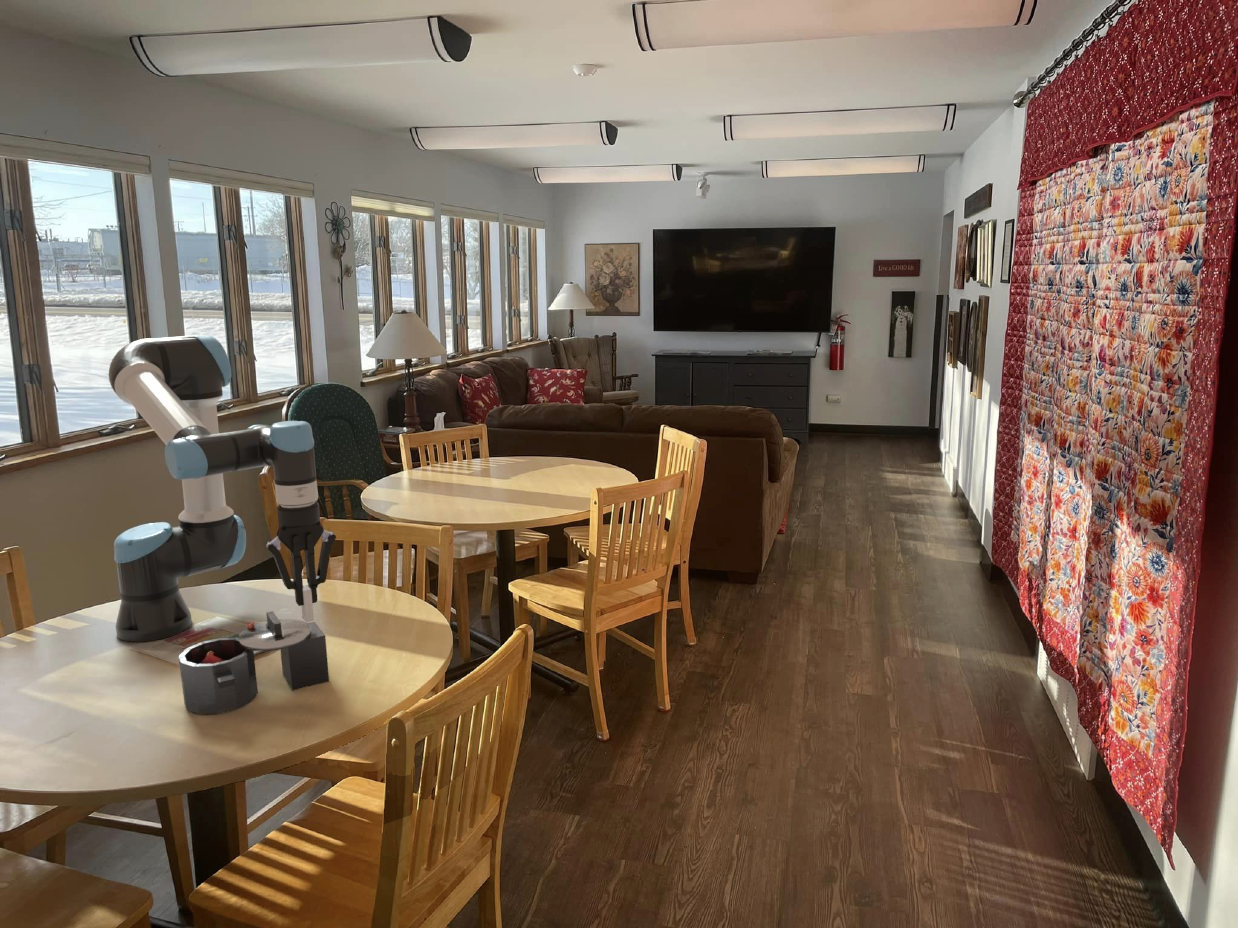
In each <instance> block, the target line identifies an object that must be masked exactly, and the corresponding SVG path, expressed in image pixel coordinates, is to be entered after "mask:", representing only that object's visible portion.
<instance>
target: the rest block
mask: <svg viewBox="0 0 1238 928" xmlns="http://www.w3.org/2000/svg"><path fill="white" fill-rule="evenodd" d="M307 623H308V624H309V625H310V628H311V634H310V636H309V637H308V638H307V639H306V640H304V641H303V642H301V643H299V644H296V645H294V646H291V647H287V648H283V649H279V650H280V658H281V659H280V660H281V669H282V676H283V677H284V679H285V681H286V683H287V684H288V686H289V687H290V689H291V691H296V690H300V689H305V688H308V687H312V686H316V685H320V684H324V683H328V682H330V676H329V675H330V674H329V662H328V652H327V641H326V640H327V639H326V635H325V633H324V632H323V630H322V629H321V628H320V626H319V625H318V624H317V622H315V621H310V622H307Z"/></svg>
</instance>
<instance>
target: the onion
mask: <svg viewBox="0 0 1238 928" xmlns="http://www.w3.org/2000/svg"><path fill="white" fill-rule="evenodd" d="M222 661H223V660H222V659H221V658H219V657H216V656H214V652H212V651H210V652H208V653H207V655H206V657H205V658H204V659H203V660H202V661H201V662H200V664H213V663H218V662H222Z"/></svg>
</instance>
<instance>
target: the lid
mask: <svg viewBox="0 0 1238 928" xmlns="http://www.w3.org/2000/svg"><path fill="white" fill-rule="evenodd" d="M308 623H309V622H306V621H305V620H301V619H293V618H292V619H291V618H283V619H279V618H278V617H277V615H276V614H275V612H274V611H273V610H272V611H267V612H266V621H263V622H259V623H256V624H255V622H254V621H253V622H252V621H251V622H247V623H246V628H245V629H244V630H242V631H241V632H240V633H239V634H238V637H237V638H238V639H239V645H240V646H241V647H243V648H245V649H248V650H253V651H254V652H267V651H269V652H271V651H278V650H280V649H283V648H287V647H291V646H294V645H296V644H299V643H301V642H303V641H304V640H306V639H307V638H308V637H309V636H310V634H311V628H310V625H309V624H308Z"/></svg>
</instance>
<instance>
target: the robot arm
mask: <svg viewBox="0 0 1238 928" xmlns="http://www.w3.org/2000/svg"><path fill="white" fill-rule="evenodd" d="M231 378H232V367H231V363H230V359H229V356H228V354H227V351H226V350H225V348H224V346H223V345H222V343H221V342H220V341H219V340H218V339H217V338H216V337H213V336H211V335H194V334H193V335H192V334H191V335H181V336H179V335H178V336H168V337H166V336H165V337H155V338H154V337H153V338H150V337H149V338H141V339H137V340H134V341H132V342H129V343H127V344H126V345H124V346H123V347H122V348H121V349H119V350H118V351H117V352H116V354H115V355H114V356H113V358H112V359H111V362H110V364H109V370H108V379H109V380H108V381H109V384H110V386H111V389H112V390H113V392H114V393H115V395H116V396H117V397H118V398H119V399H120V400H121V401H123V402H125V403H127V404H129V405H132V406H133V407H134V409H135V410H136V411H137V413H139V415H140V416H141V417H142V418H143V419H144V421H145V422H146V423H147V424H148V425H149V426H150V428H151V429H152V430H153V431H154V434H155V433H156V435H157V436H158V438H159V439H160V440H161V441H162V443H164V445H165V447H164V460H165V465H166V467H167V468H168V471H169V474H170V475H171V477H173V478H174V479H176V480H181V483H182V493H183V495H182V497H183V503H184V504H183V505H184V509H183V510H182V511H181V512H180V513H179V514H178V525H177V526H172V525H171V524H170V523H168V522H165V521H160V522H159V521H156V522H153V523H152V522H149V523H144V524H139V525H138V526H134V527H131V528H129V529H126V530H124V532H121V533H120V534H119V535H118V536H117V537H116V538H115V540H114V543H113V551H114V555H113V557H114V558H113V559H114V562H115V565H116V573H117V581H118V587H119V593H120V605H119V609H118V615H117V618H116V622H115V630H116V637H117V638H118V639H119V640H122V641H124V642H131V643H132V642H135V643H138V642H139V643H140V642H149V641H150V642H152V641H157V640H162V639H165V638H169V637H173V636H175V635H178V634H180V633H182V632H184V631H186V630H187V629H189V628H190V627H191V625H192V623H193V620H192V613H191V611H190V608H189V607H188V605H187V603H186V601H185V599H184V597H183V595H182V593H181V592H180V591H181V590H180V587H179V586H180V585H179V580H180V579H181V578H186V577H190V576H194V575H199V574H203V573H207V572H211V571H215V570H222V569H225V568H226V567H230V566H234V565H236V564H237V563H239V562H240V561H241V560H242V558H243V557H244V555H245V551H246V547H247V534H246V533H247V531H246V528H244V527H245V525H244V522H243V520H242V519H241V517H240V516H239V515H236V514H234V510H233V509H232V508H231V507H230V506H229V505H227V503H226V494H225V482H224V474H225V473H226V474H227V473H230V472H239V471H246V470H250V469H257V468H262V467H270V468H272V470H273V477H274V490H275V491H274V492H275V499H276V500H275V501H276V503H277V505H278V506H277V507H276V511H277V520H278V521H277V522H278V530H277V532H276V537H274V538H273V539H272V540H271V541H268V540H267V541H266V542H265V547H266V548H267V549H268V551H269V552H270V553H271V554H272V556H273V558H274V562H275V564H276V567H277V569H278V573H279V574H280V578H281V580H282V582H283V583H282V584H283V585H284V587H286V588H287V589H286V590H294V596H295V597H294V598H295V603H296V604H297V605H298V606H299V607H301V614H302V619H303V621H304V622H307V623H311V622H315V618H314V617H315V615H314V607H313V604H315V603H317V602H318V590H317V588H318V587H319V585H320V584H324V583H325V582H326V581H327V575H328V570H329V563H330V558H331V551H332V546H333V545H334V542H335V541H336V538H337V536H336V534H335V533H333V531H328V530H325V528H324V526H323V525H322V523H321V516H320V504H319V502H318V499H319V492H318V483H317V470H316V469H317V467H316V455H315V454H316V453H315V439H314V437H313V436H314V435H313V429H312V426H311V424H310V423H309V422H307V421H304V420H300V421H298V420H285V421H279V422H274V423H272V424H271V425H269V424H253V425H251V426H249V427H247V428H246V429H242V430H234V431H229V432H221V433H220V430H219V421H218V420H219V419H218V409H217V404H218V402H219V401H220V400H221V399H222V397H223V396H224V394H223V388H225V387H227V386H229V384H230V383H231V380H232V379H231ZM320 539H321V541H322V542H321V547H320V551H319V552H320V553H319V559H318V565H317V569H316V562H315V561H316V560H315V546H317V545H316V544H318V542H319V540H320ZM281 543H282V544H283V545H284V546H285V547H286V548H287V549H288V550H289V553H290V557H291V559H290V561H291V568H292V569H291V570H292V578H291V577H290V574H289V571H288V568H287V565H286V563H285V560H284V558H283V555H282V553H281V551H280V550H281V549H282V546H281ZM302 551H303V552H304V560H305V571H306V572H305V573H306V580H307V585H304V583H303V582H304V581H303V573H302V562H301V561H302V559H301V556H302V553H301V552H302ZM291 579H292V580H291Z"/></svg>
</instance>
